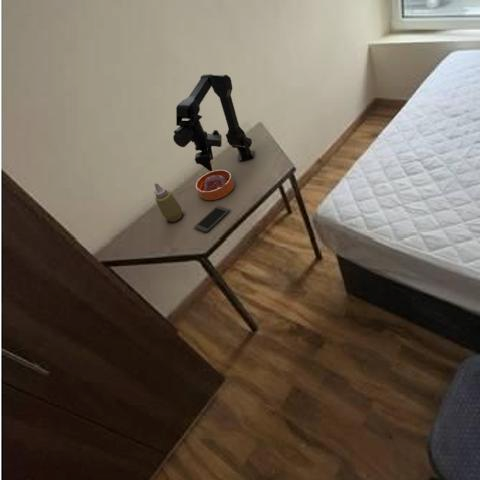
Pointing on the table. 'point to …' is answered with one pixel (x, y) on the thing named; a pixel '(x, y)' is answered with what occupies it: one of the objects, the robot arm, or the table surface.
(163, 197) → the squeeze bottle
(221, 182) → the video game controller
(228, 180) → the orange mixing bowl
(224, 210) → the cell phone
